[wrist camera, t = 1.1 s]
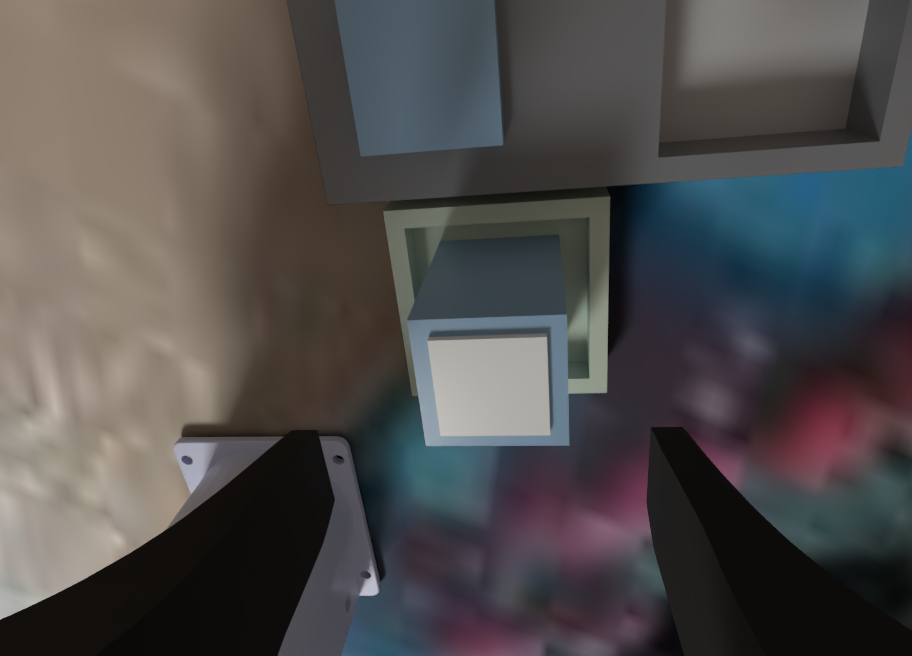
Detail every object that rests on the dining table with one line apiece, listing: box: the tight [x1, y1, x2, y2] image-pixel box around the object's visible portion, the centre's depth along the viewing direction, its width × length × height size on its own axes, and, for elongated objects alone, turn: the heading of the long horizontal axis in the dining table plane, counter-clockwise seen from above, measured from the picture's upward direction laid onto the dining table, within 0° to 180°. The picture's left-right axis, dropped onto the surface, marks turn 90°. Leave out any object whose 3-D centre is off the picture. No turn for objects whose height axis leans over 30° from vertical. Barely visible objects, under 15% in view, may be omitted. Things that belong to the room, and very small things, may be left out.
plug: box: [407, 234, 569, 446], centre depth 18 cm, size 4×4×6 cm
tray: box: [383, 186, 610, 396], centre depth 21 cm, size 7×7×2 cm
